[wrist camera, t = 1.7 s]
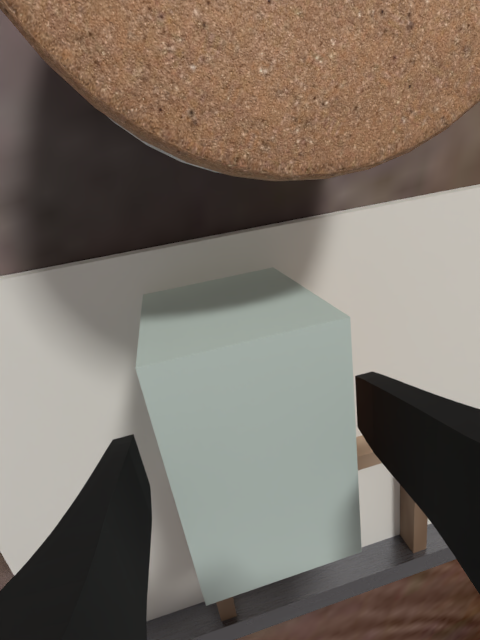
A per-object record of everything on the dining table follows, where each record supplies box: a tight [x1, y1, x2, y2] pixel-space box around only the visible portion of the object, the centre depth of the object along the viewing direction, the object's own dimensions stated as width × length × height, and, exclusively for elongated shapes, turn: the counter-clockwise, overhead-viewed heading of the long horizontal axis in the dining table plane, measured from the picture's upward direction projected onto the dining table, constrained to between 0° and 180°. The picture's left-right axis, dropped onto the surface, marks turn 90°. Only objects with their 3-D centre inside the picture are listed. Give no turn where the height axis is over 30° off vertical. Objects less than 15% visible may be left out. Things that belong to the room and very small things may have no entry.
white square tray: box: [0, 184, 480, 640], centre depth 17 cm, size 24×20×2 cm
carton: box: [135, 267, 362, 606], centre depth 12 cm, size 5×8×6 cm, turn 9°
